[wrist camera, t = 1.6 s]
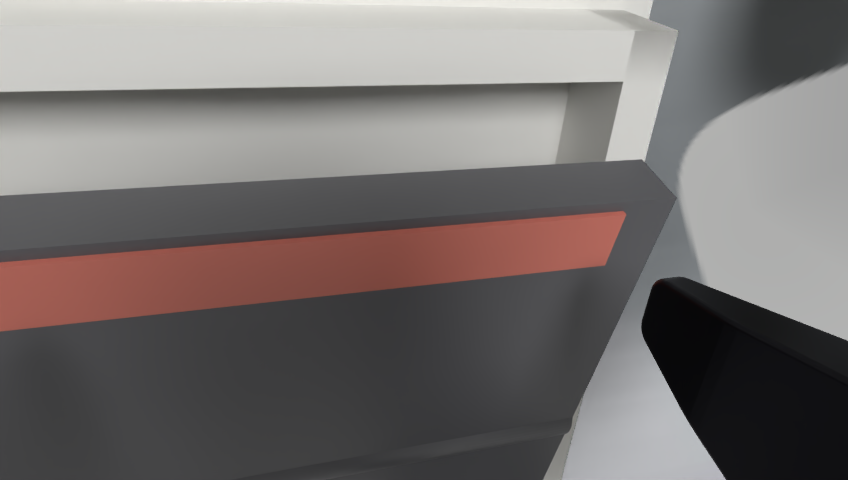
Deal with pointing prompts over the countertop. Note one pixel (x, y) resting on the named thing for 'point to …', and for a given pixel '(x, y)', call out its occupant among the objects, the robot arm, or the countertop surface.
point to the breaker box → (320, 90)
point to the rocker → (315, 322)
